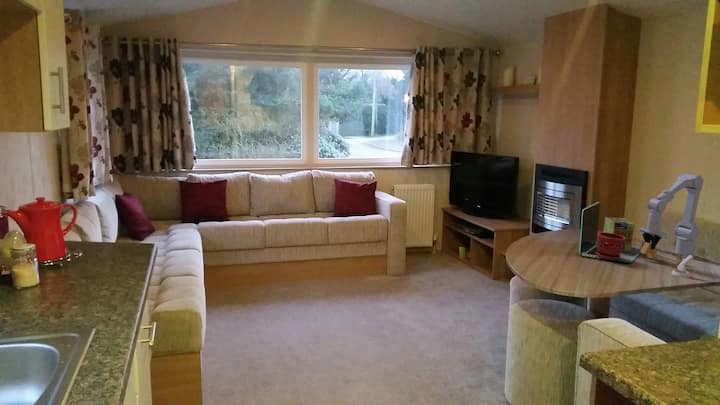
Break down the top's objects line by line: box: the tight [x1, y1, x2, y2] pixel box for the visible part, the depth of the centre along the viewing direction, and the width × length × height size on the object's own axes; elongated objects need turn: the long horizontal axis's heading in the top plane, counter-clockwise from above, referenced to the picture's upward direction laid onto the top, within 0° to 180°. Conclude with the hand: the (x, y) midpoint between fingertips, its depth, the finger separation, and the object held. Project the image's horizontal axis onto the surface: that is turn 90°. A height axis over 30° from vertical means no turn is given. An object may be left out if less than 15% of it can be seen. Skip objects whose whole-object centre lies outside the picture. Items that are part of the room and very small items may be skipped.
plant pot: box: [595, 231, 626, 261], centre depth 272 cm, size 13×13×12 cm
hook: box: [671, 255, 694, 278], centre depth 249 cm, size 8×12×7 cm
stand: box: [638, 241, 684, 266], centre depth 277 cm, size 6×22×5 cm, turn 23°
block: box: [639, 241, 658, 260], centre depth 272 cm, size 8×3×6 cm, turn 116°
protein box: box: [603, 216, 635, 252], centre depth 293 cm, size 10×15×16 cm
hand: (649, 248), depth 272 cm, fingers closed on block, 3 cm apart
